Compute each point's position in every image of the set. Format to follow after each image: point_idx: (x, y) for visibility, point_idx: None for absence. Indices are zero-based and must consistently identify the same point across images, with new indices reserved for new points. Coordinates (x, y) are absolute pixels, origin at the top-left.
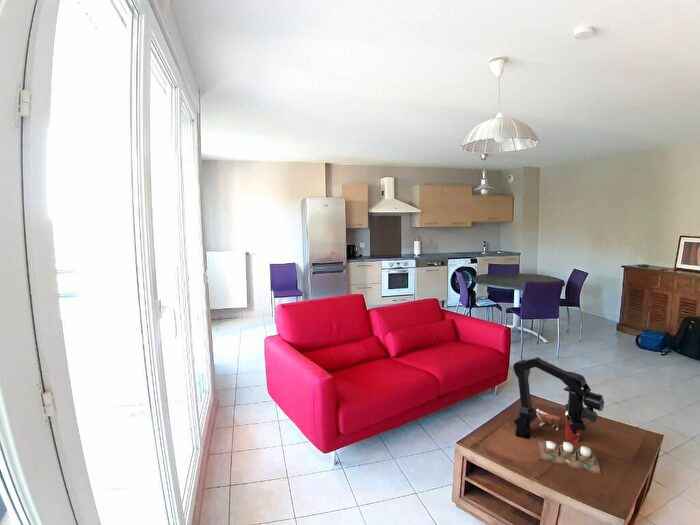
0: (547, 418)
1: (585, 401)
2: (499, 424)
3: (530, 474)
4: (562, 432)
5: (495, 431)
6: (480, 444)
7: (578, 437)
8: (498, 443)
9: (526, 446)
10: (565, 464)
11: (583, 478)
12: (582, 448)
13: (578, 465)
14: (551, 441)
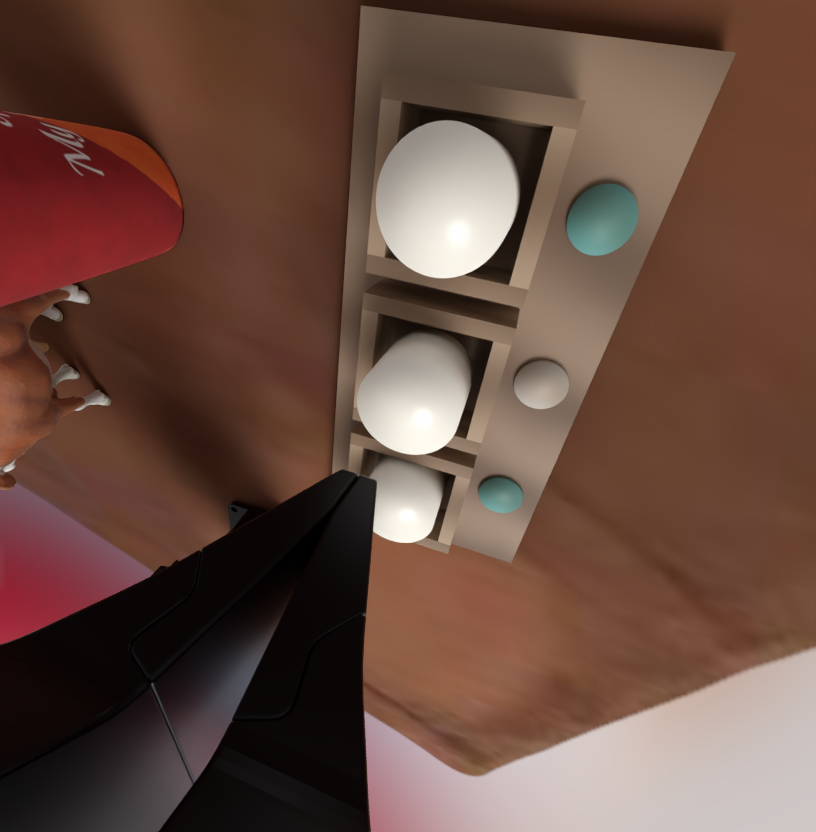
0: (23, 404)
1: None
2: None
3: (700, 658)
4: None
5: None
6: (447, 729)
7: (110, 144)
8: (414, 670)
9: (394, 566)
10: (573, 416)
11: (781, 321)
12: (443, 257)
13: (595, 313)
14: None
